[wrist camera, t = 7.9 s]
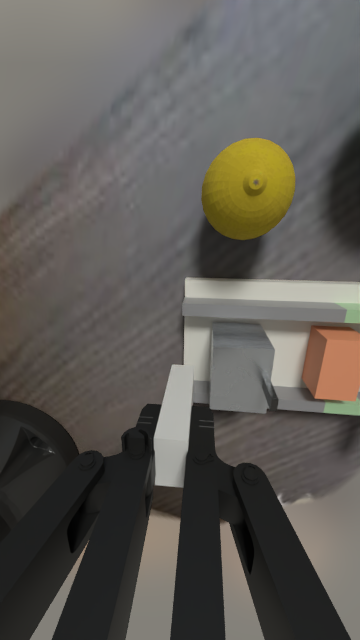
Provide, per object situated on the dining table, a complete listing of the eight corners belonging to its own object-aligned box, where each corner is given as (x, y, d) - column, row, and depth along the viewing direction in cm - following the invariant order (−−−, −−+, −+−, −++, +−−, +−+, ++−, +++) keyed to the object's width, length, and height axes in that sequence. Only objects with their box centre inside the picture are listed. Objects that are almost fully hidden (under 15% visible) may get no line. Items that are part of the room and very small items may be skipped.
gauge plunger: (209, 373, 23) (209, 433, 16) (212, 321, 22) (213, 363, 15) (254, 376, 23) (274, 439, 16) (260, 324, 21) (285, 368, 14)
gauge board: (184, 394, 26) (175, 451, 19) (186, 277, 22) (176, 296, 15) (372, 408, 24) (436, 476, 17) (410, 283, 20) (512, 308, 13)
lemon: (190, 216, 20) (178, 205, 13) (228, 145, 19) (241, 85, 11) (247, 251, 21) (269, 261, 13) (290, 186, 19) (344, 154, 11)
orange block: (301, 377, 23) (314, 398, 20) (311, 325, 21) (327, 339, 18) (337, 380, 22) (355, 401, 19) (349, 327, 21) (372, 341, 18)
